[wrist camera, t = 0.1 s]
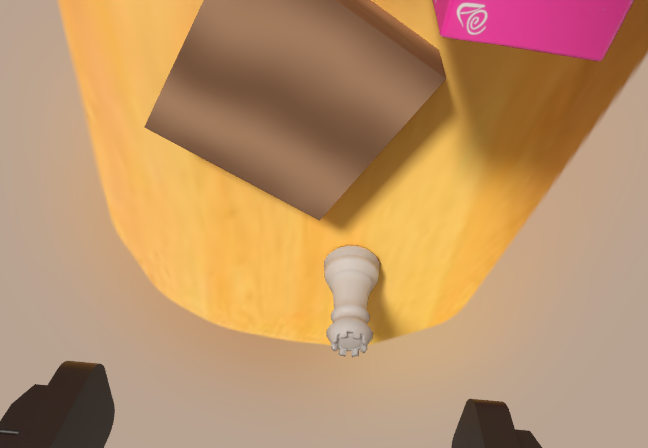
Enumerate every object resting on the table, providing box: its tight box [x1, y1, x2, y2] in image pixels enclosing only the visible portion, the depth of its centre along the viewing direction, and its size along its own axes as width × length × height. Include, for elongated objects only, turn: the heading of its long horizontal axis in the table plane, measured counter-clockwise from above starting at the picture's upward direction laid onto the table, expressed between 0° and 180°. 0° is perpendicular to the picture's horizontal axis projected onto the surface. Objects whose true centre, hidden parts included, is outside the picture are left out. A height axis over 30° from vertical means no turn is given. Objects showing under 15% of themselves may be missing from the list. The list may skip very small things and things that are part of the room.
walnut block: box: [145, 0, 446, 220], centre depth 29 cm, size 12×12×4 cm
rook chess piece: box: [324, 245, 380, 357], centre depth 37 cm, size 4×4×8 cm
